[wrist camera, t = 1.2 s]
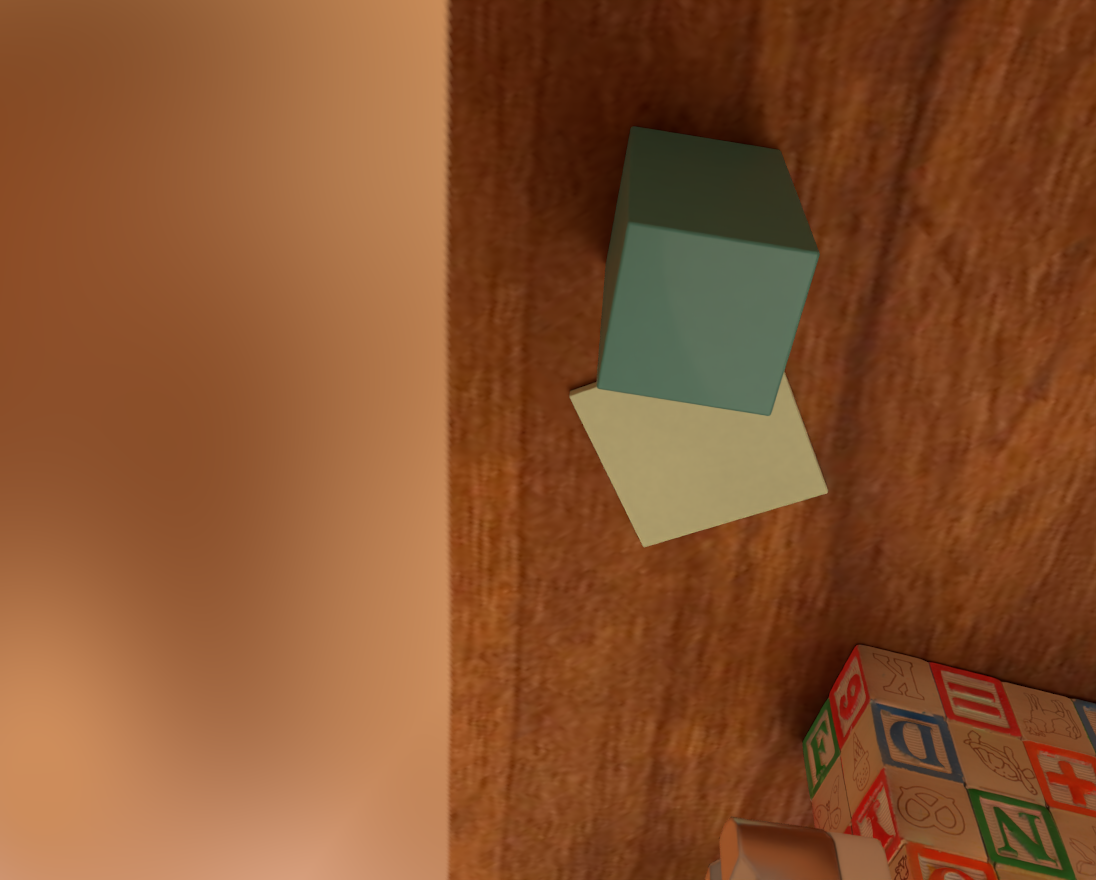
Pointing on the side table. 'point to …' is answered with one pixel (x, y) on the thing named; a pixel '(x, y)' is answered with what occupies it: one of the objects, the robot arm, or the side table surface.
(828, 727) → the stack of blocks
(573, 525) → the side table surface
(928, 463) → the side table surface
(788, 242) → the teal block
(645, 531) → the sage mat
